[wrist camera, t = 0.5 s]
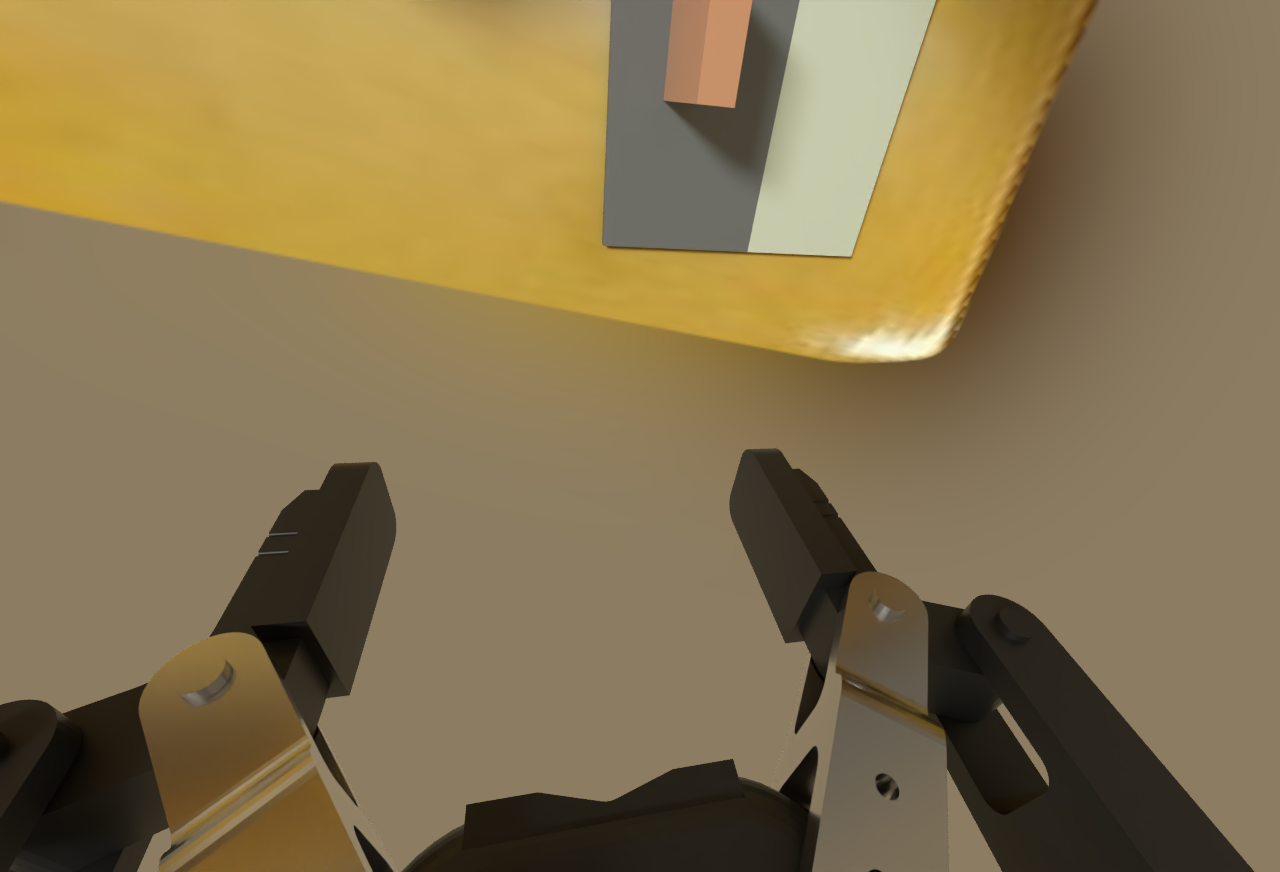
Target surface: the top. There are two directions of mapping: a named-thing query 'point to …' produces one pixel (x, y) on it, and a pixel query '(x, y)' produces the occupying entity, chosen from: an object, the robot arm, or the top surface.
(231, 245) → the top surface
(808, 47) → the mat
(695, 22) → the tile
